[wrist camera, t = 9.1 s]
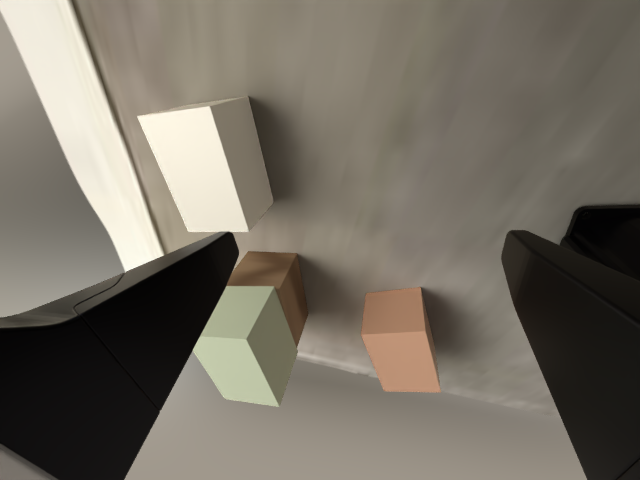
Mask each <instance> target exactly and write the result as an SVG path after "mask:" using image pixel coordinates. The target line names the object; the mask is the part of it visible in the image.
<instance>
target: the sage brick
mask: <svg viewBox="0 0 640 480" xmlns="http://www.w3.org/2000/svg"><path fill="white" fill-rule="evenodd" d="M193 352H194V353H195V355H196V356H197V358H198V359H199V361H200V362H201V364H202V365H203V367H204V368H205V370H206V371H207V373H208V374H209V376H210V377H211V379H212V380H213V382H214V383H215V385H216V386H217V388H218V389H219V391H220V392H221V394H222V396H223V397H224V398H225V399H228V400H235V401H243V402H250V403H256V404H264V405H270V406H277V407H279V406H280V404H281V401H282V398H283V395H284V392H285V389H286V386H287V383H288V380H289V377H290V374H291V371H292V368H293V364H294V362H295V359H296V356H297V353H298V350H297V348H296V345H295V342H294V339H293V337H292V334H291V331H290V328H289V326H288V323H287V320H286V317H285V315H284V312H283V309H282V306H281V304H280V301H279V298H278V295H277V293H276V290H275V287H274V286H226V288H225V290H224V292H223V294H222V296H221V298H220V300H219V302H218V304H217V306H216V307H215V309H214V311H213V313H212V315H211V317H210V319H209V321H208V322H207V324H206V326H205V328H204V330H203V332H202V334H201V336H200V338H199V339H198V341H197V343H196V345H195V347H194V349H193Z"/></svg>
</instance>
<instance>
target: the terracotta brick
mask: <svg viewBox="0 0 640 480" xmlns="http://www.w3.org/2000/svg"><path fill="white" fill-rule="evenodd" d="M361 336H362V339H363V341H364V344H365V346H366V348H367V351H368V353H369V356H370V358H371V360H372V363H373V365H374V368H375V370H376V373H377V375H378V377H379V380H380V382H381V385H382V387H383V390H384V391H398V392H399V391H400V392H441V389H440V382H439V375H438V367H437V360H436V353H435V346H434V341H433V337H432V333H431V329H430V325H429V321H428V316H427V312H426V308H425V304H424V300H423V295H422V291H421V287H417V288H408V289H399V290H390V291H381V292H372V293H366V296H365V305H364V313H363V321H362V330H361Z"/></svg>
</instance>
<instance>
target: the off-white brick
mask: <svg viewBox="0 0 640 480" xmlns="http://www.w3.org/2000/svg"><path fill="white" fill-rule="evenodd" d="M137 117H138V119H139V122H140V124H141V126H142V128H143V131H144V133H145V135H146V137H147V140H148V142H149V144H150V146H151V149H152V151H153V153H154V155H155V158H156V160H157V162H158V164H159V167H160V169H161V171H162V173H163V176H164V178H165V180H166V182H167V185H168V187H169V189H170V191H171V194H172V196H173V198H174V200H175V203H176V205H177V207H178V209H179V212H180V214H181V216H182V218H183V221H184V223H185V225H186V227H187V230H188V232H221V231H229V232H249V231H250V230H251V229H252V228H253V226H254V225H255V224H256V223H257V222H258V220H259V219H260V218H261V217H262V216H263V215H264V213H265V212H266V211H267V210H268V209H269V207H270V206H271V205H272V204H273V203H274V201H273V196H272V192H271V188H270V184H269V180H268V176H267V172H266V168H265V163H264V159H263V155H262V151H261V147H260V143H259V139H258V135H257V130H256V126H255V122H254V118H253V114H252V110H251V106H250V102H249V97H248V96H246V97H239V98H232V99H225V100H218V101H211V102H204V103H197V104H190V105H185V106H180V107H176V108H172V109H167V110H163V111H158V112H154V113H150V114H145V115H141V116H137Z"/></svg>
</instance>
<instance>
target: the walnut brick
mask: <svg viewBox="0 0 640 480" xmlns="http://www.w3.org/2000/svg"><path fill="white" fill-rule="evenodd" d="M227 286H274V287H275V290H276V293H277V295H278V298H279V301H280V304H281V306H282V309H283V312H284V315H285V317H286V320H287V323H288V326H289V328H290V331H291V334H292V337H293V339H294V342H295V345H296V348H297V346H298V343H299V340H300V337H301V334H302V331H303V328H304V325H305V322H306V319H307V316H308V309H307V304H306V298H305V293H304V288H303V283H302V277H301V272H300V267H299V261H298V256H297V253H276V252H251V251H248V252H247V254H246V255H245V256H244V258H243V259H242V260H241V262H240V263H239V264H238V266H237V267H236V268H235V270H234V271H233V272H232V274H231V276H230V279H229V281H228V284H227Z"/></svg>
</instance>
